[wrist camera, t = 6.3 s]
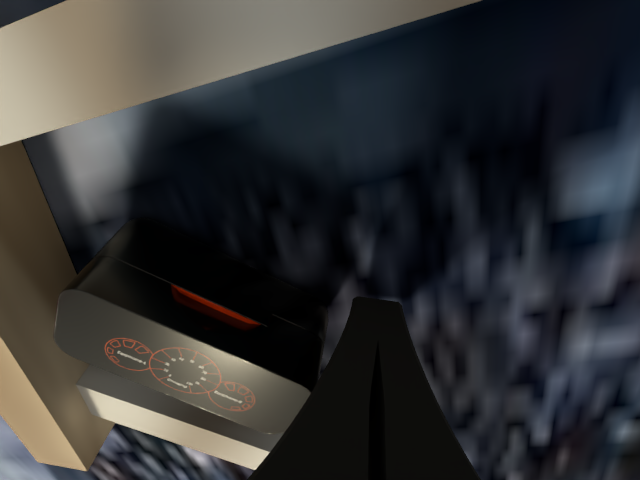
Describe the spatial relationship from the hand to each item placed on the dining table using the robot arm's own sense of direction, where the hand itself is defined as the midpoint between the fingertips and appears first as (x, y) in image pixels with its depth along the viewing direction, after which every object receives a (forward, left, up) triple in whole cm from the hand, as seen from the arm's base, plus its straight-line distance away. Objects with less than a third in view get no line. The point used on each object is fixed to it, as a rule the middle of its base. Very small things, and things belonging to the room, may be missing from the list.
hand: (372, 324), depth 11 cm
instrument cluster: (+6, 0, -1) cm, 6 cm away
